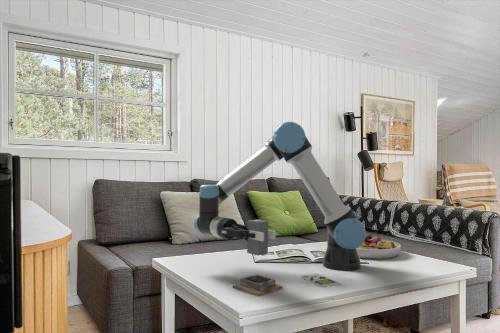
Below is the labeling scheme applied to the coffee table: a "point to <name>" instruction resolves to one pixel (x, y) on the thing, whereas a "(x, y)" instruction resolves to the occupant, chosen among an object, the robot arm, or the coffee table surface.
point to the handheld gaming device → (320, 280)
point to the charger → (255, 245)
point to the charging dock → (257, 285)
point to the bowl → (377, 248)
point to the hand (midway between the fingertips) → (268, 236)
